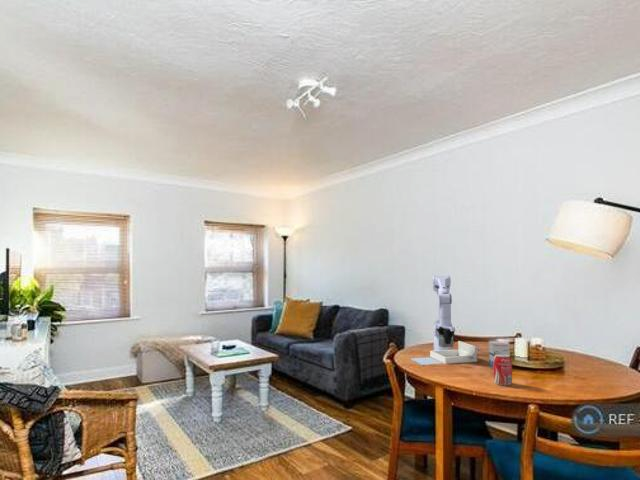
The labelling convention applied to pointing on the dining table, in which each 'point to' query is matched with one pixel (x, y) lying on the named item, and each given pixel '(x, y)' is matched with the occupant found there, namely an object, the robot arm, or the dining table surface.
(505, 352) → the ink box
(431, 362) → the mat
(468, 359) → the case
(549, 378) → the dining table surface
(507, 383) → the soda can
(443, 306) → the robot arm
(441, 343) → the block
